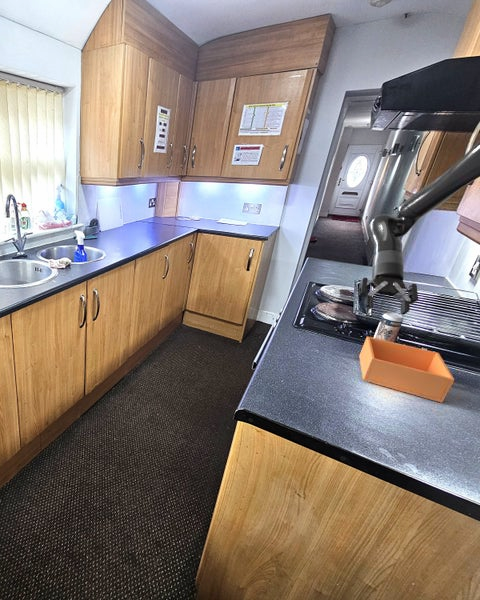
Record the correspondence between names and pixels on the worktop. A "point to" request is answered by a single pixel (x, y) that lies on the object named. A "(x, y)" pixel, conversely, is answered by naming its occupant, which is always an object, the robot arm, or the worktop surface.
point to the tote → (405, 369)
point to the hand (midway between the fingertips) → (386, 310)
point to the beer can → (388, 326)
